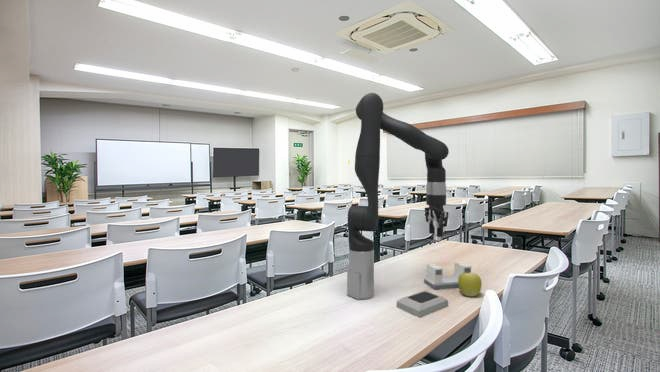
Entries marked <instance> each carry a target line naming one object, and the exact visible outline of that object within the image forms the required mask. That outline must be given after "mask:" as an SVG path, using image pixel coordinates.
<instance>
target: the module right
mask: <svg viewBox="0 0 660 372" xmlns="http://www.w3.org/2000/svg"><path fill="white" fill-rule="evenodd" d="M453 265H454V266H453V269H454V270H453V276H454V277H456V278H459V276H460V274H462V273H472V265H471V264H468V263H465V262H463V261H454V264H453Z"/></svg>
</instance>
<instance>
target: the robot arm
mask: <svg viewBox="0 0 660 372" xmlns="http://www.w3.org/2000/svg"><path fill="white" fill-rule="evenodd" d="M355 115H356V116H357V118H358V119H359V120H360V123H361V124H360V133H359V137H358V141H357V144H356V149H355V154H354V155H355V158H354V172H355V176H356V177H357V178H358V181H359V183H360V184H361V185H362V187H363V189H364V192H365V194H366V197H367V205H351V206H350V207H349V208H348V211H347V234H348V236H347V237H348V269H347V271H346V279H347V280H346V283H347V285H346V286H347V287H346V295H347V296H349V297H352V298H354V299H356V300H359V301H360V300H366V299H367V300H368V299H371V298H373V297H374V296H375V279H374V277H375V243H374V241H373V240H372V239H370V238H368V237H366V236H365V235H364V234H362V233H361V232H376V230H377V229H378V225H379V180H380V179H379V175H380V168H381V167H380V166H381V163H380V162H381V160H380V159H381V130H382V131H384V132H386V133H388V134H390V135H392V136H394V137H396V138H397V139H399V140H400V141H402V142H403V143H405V144H406V145H408V146H410V147H411V148H414V150H419V151H421V152H423V153H424V161H425V167H426V192H425V194H426V195H425V199H426V201H425V202H426V203H425V204H426V205H427V207H424V215H425V223H427V224H428V226H429V227H428V233H429V234H432V235H433V234H434V235H435V229H434V226H433V219H435V222H436V224H437V237H441V238H442V237H444V232H443V227H446V226H447V221H448V219H449V212H448V211H445V209H444V206H446V205H447V183H446V180H447V179H446V175H447V172H446V169H445V167H444V166H443V160H445V159H446V158H448V156H449V153H450V152H449V146H448V145H447V144H446V143H444V142H443V141H441V140H439V139H437V138H435V137H433V136H431V135H428V134H426V133H425V132H424V131H422V130H421V129H420V128H417V127H416V126H414V125H413V124H410V123H408V122H405V121H402V120H399V119H397V118H394V117H392V116H389V115H387V114H386V113H385V112H384V102H383V99H382V97H380V95H379V94H377V93H375V92H369V93H367V94H365V95H364V96H362V98H361V99H360V100H359V102H358V103H357V105H356V107H355ZM443 221H445V222H443ZM439 222H440V224H439Z"/></svg>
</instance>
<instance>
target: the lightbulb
mask: <svg viewBox="0 0 660 372" xmlns="http://www.w3.org/2000/svg"><path fill="white" fill-rule="evenodd" d="M443 222H445V221H443ZM450 223H451V222H450V218H448V221H447V226H446V227H443V233H444V232H445V231H446V230H447V229H448V228H449V226H450ZM439 224H440V222H439ZM433 226H434V229H435V233H434V236H433V240H434V241H435V242H440V241H441V239H442V237H437V224H436V222H435V219H433Z"/></svg>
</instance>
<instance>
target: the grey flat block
mask: <svg viewBox="0 0 660 372" xmlns="http://www.w3.org/2000/svg"><path fill="white" fill-rule="evenodd" d="M447 307H449V300H448V299H447V298H446V297H444V296H443V295H440V294H437V293H434V292H432V291H429V290H426V289H425V290H422V291H419V292H415V293H413V294H411V295H407V296H404V297H402V298H400V299H397V300H396V308H398V309H400V310H402V311H404V312H406V313H408V314H410V315H412V316H415V317H416V316H417V318H423V317H425V316H427V315H429V314H432V313H434V312H437V311H439V310H442V309H444V308H447Z"/></svg>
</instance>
